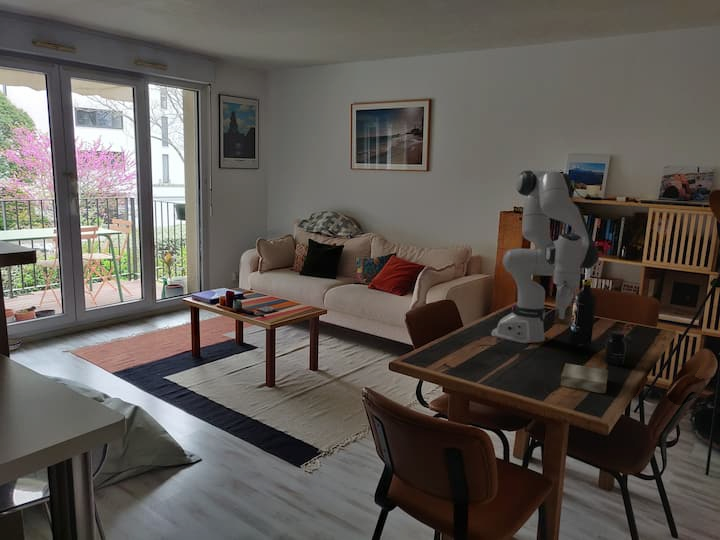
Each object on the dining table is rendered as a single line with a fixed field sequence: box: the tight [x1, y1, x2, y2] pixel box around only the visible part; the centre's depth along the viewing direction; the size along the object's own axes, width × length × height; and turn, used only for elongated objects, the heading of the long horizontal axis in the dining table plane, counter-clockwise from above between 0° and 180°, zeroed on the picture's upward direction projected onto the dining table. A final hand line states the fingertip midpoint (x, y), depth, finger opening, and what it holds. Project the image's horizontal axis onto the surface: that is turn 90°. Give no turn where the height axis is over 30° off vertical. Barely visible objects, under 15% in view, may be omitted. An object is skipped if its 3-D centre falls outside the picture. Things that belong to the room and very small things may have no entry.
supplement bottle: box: [603, 330, 627, 366], centre depth 208 cm, size 7×7×12 cm
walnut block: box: [553, 306, 573, 326], centre depth 198 cm, size 5×5×6 cm
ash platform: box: [560, 362, 609, 395], centre depth 188 cm, size 14×14×4 cm
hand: (562, 316), depth 198 cm, fingers closed on walnut block, 5 cm apart
